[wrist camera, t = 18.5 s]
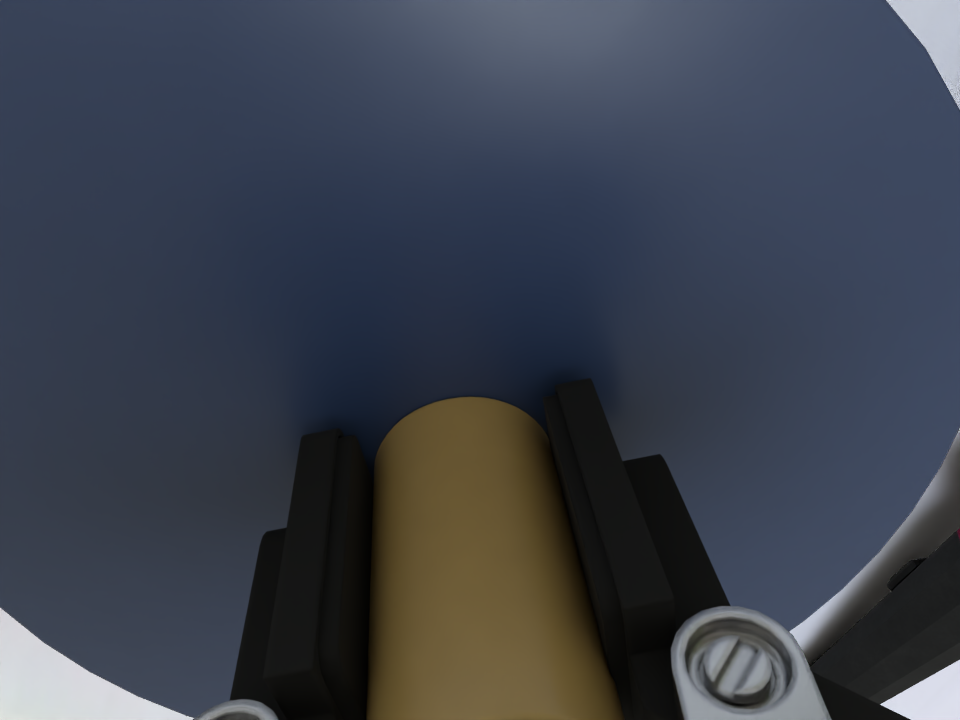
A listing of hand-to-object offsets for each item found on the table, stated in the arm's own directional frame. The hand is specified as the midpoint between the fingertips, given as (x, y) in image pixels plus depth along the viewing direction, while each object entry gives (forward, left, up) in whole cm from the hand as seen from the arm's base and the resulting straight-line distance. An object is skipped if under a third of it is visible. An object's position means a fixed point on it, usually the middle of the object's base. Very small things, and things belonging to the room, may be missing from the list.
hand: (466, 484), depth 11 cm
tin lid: (0, 0, -1) cm, 1 cm away
